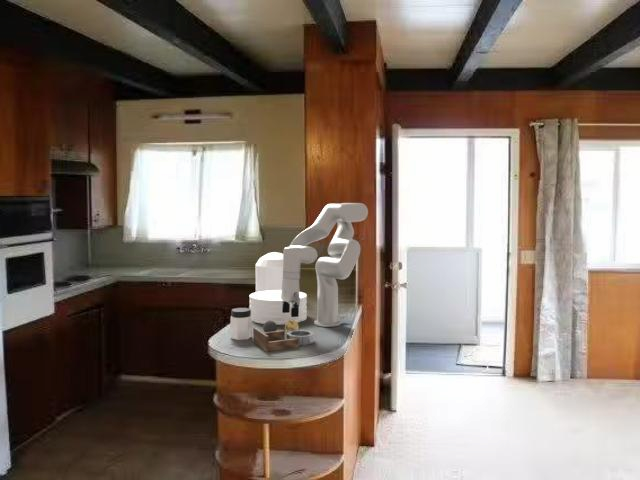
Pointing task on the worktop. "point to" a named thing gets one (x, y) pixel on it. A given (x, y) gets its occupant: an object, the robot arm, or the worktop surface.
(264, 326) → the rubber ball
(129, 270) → the worktop surface
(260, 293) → the plate stack
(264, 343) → the walnut housing
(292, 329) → the brass ball
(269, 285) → the container
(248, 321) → the jar
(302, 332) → the steel race
